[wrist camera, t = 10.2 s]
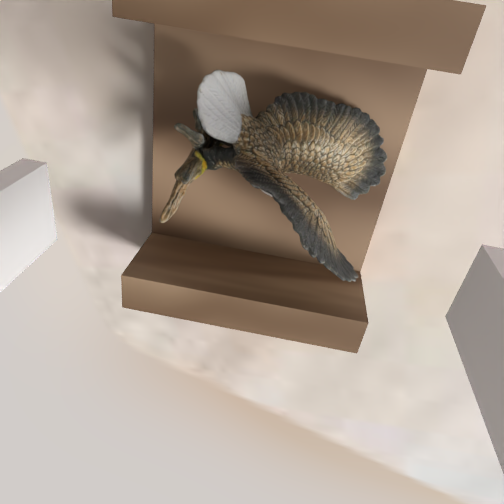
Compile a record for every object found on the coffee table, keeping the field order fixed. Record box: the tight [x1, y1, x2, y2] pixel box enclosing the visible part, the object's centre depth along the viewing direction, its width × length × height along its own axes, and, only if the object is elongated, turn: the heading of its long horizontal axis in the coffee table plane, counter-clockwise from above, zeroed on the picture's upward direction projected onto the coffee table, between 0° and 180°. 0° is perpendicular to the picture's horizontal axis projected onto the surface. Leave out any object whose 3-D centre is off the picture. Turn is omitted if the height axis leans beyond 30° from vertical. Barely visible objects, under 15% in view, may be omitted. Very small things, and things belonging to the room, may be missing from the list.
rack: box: [112, 0, 486, 353], centre depth 19 cm, size 16×12×5 cm
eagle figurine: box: [159, 70, 387, 282], centre depth 18 cm, size 8×7×9 cm
